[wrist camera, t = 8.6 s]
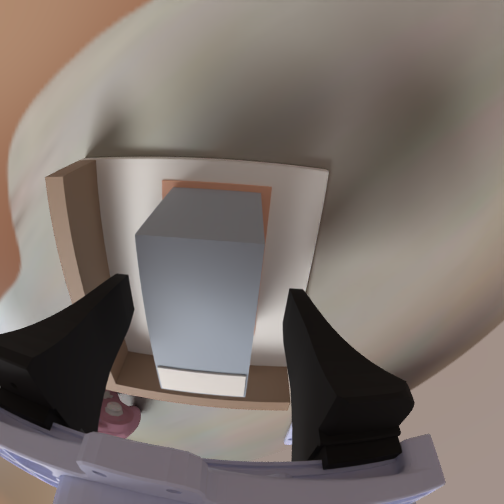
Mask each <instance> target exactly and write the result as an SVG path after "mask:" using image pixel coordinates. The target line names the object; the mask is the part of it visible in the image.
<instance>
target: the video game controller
mask: <svg viewBox="0 0 504 504" xmlns="http://www.w3.org/2000/svg"><path fill="white" fill-rule="evenodd" d="M140 419H141V413H140V410H139V408H138V407H136V406H127V405H125V404H124V403H123V402H121V401H120V399H119V396H118V394H117V392H115V391H110V390H106V389H105V393H104V398H103V402H102V407H101V413H100V419H99V425H98V432H99V433H105V434H109V435H112V436H116V437H120V438H124V439H125V438H127V437H128V436H129V435H130V434H132V433H133V432H134V431H135V429H136V428H137V427H138V425H139V422H140Z"/></svg>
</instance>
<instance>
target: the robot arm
mask: <svg viewBox="0 0 504 504" xmlns="http://www.w3.org/2000/svg"><path fill="white" fill-rule="evenodd" d="M134 310H135V309H134V304H133V299H132V293H131V287H130V281H129V275H127V274H118V273H116V274H115V275H113V276H112V277H110V278H109V279H107V280H106V281H105V282H103V283H102V284H100V285H99V286H98V287H96V288H95V289H94V290H92V291H91V292H89V293H88V294H87V295H85V296H84V297H82V298H81V299H79V300H78V301H76V302H75V303H73V304H72V305H70V306H69V307H67V308H65V309H64V310H62V311H60V312H58V313H56V314H55V315H53V316H51V317H48V318H46V319H44V320H42V321H40V322H37V323H35V324H33V325H30V326H27V327H25V328H22V329H19V330H15V331H12V332H8V333H4V334H0V456H1V457H2V458H4V459H6V460H7V461H9V462H10V463H12V464H14V465H15V466H17V467H19V468H21V469H22V470H24V471H26V472H28V473H29V474H31V475H33V476H35V477H37V478H38V479H40V480H42V481H44V482H46V483H48V484H50V485H52V486H54V487H56V488H57V490H56V494H55V497H54V501H53V504H416V502H415V501H417V500H419V499H421V498H423V497H425V496H426V495H428V494H430V493H432V492H433V491H435V490H437V489H438V488H440V487H442V486H443V485H445V479H444V476H443V472H442V469H441V465H440V462H439V460H438V456H437V453H436V450H435V447H434V444H433V441H432V438H431V435H430V434H425V435H422V436H417V437H413V438H409V439H406V440H404V441H402V442H399V439H398V436H399V435H400V434H401V431H400V428H399V425H400V424H401V423H402V421H403V420H404V419H405V418H406V417H407V416H408V415H409V413H410V412H411V411H412V409H413V407H414V400H413V397H412V394H411V392H410V389H409V387H408V385H407V383H406V381H404V380H402V379H400V378H398V377H396V376H394V375H392V374H390V373H388V372H387V371H385V370H383V369H382V368H380V367H378V366H377V365H375V364H374V363H372V362H371V361H369V360H368V359H367V358H365V357H364V356H363V355H361V354H360V353H359V352H357V351H356V350H355V349H354V348H353V347H351V346H350V345H349V344H348V343H347V342H346V341H345V340H344V339H343V338H342V337H341V336H340V335H339V334H338V333H337V332H336V331H335V330H334V329H333V328H332V327H331V325H330V324H329V323H328V322H327V321H326V319H325V318H324V317H323V316H322V314H321V313H320V312H319V310H318V309H317V308H316V306H315V305H314V304H313V302H312V301H311V299H310V298H309V297H308V295H307V294H306V292H305V291H304V290H303V289H294V288H289V293H288V298H287V303H286V308H285V313H284V318H283V323H282V324H283V344H284V351H285V357H286V363H287V369H288V375H289V381H290V388H291V406H292V423H291V425H290V428H289V430H288V432H287V434H286V437H285V439H284V444H286V445H292V462H247V461H228V460H215V459H205V458H201V457H200V456H197V455H195V454H192V453H190V452H187V451H183V450H179V449H174V448H169V447H163V446H157V445H152V444H147V443H142V442H137V441H133V440H129V439H124V438H120V437H116V436H112V435H109V434H105V433H99V432H98V425H99V419H100V413H101V407H102V402H103V398H104V393H105V389H106V385H107V382H108V378H109V374H110V371H111V368H112V366H113V363H114V361H115V359H116V356H117V354H118V352H119V349H120V347H121V345H122V343H123V341H124V338H125V336H126V334H127V332H128V329H129V327H130V323H131V320H132V317H133V313H134Z"/></svg>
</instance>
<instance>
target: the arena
mask: <svg viewBox="0 0 504 504" xmlns="http://www.w3.org/2000/svg"><path fill="white" fill-rule="evenodd" d="M328 175H329V171H328V170H327V169H320V168H313V167H305V166H296V165H287V164H278V163H268V162H257V161H244V160H231V159H214V158H192V157H98V158H84V159H81V160H79V161H77V162H75V163H73V164H71V165H69V166H67V167H65V168H62V169H60V170H58V171H56V172H55V173H53V174H51V175H49V176H47V177H45V180H46V188H47V196H48V202H49V209H50V215H51V220H52V226H53V231H54V236H55V240H56V245H57V249H58V254H59V258H60V262H61V266H62V270H63V274H64V277H65V281H66V284H67V288H68V291H69V295H70V298H71V301H72V304H73V303H75V302H76V301H78V300H79V299H81V298H82V297H84V296H85V295H87V294H88V293H89V292H91V291H92V290H94V289H95V288H96V287H98V286H99V285H100V284H102V283H103V282H105V281H106V280H107V279H109V278H110V277H112V276H113V275H115V274H116V273H118V274H127V275H129V281H130V287H131V293H132V299H133V304H134V309H135V310H134V313H133V317H132V320H131V323H130V327H129V329H128V332H127V334H126V336H125V338H124V341H123V343H122V345H121V347H120V349H119V352H118V354H117V356H116V359H115V361H114V363H113V366H112V368H111V371H110V374H109V378H108V382H107V385H106V390H110V391H115V392H119V393H124V394H129V395H133V396H139V397H144V398H149V399H155V400H161V401H168V402H175V403H182V404H190V405H198V406H208V407H218V408H231V409H248V410H288V408H289V405H290V394H289V383H288V373H287V363H286V357H285V351H284V344H283V324H282V323H283V318H284V313H285V308H286V303H287V298H288V293H289V288H294V289H303V290H304V291H305V292H306V287H307V283H308V278H309V274H310V269H311V265H312V260H313V255H314V250H315V245H316V240H317V235H318V230H319V225H320V220H321V215H322V209H323V204H324V198H325V193H326V187H327V181H328ZM173 187H180V188H200V189H216V190H231V191H244V192H256V193H261V200H262V213H263V226H264V239H265V248H264V256H263V264H262V272H261V280H260V289H259V297H258V304H257V312H256V320H255V328H254V336H253V344H252V351H251V359H250V366H249V374H248V381H247V389H246V396H245V397H232V396H219V395H209V394H199V393H190V392H182V391H175V390H168V389H161V386H160V382H159V378H158V374H157V370H156V365H155V361H154V356H153V351H152V347H151V342H150V337H149V331H148V326H147V321H146V315H145V309H144V303H143V297H142V290H141V283H140V276H139V268H138V260H137V252H136V243H135V234H136V232H137V231H138V230H139V228H140V227H141V226H142V225H143V223H144V222H145V221H146V219H147V218H148V217H149V216H150V214H151V213H152V212H153V211H154V210H155V208H156V207H157V206H158V205H159V203H160V202H161V201H162V200H163V199H164V197H165V196H166V195H167V194H168V193H169V191H170V190H171V189H172V188H173Z"/></svg>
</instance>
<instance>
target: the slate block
mask: <svg viewBox="0 0 504 504" xmlns="http://www.w3.org/2000/svg"><path fill="white" fill-rule="evenodd" d="M135 243H136V252H137V260H138V268H139V276H140V283H141V290H142V297H143V303H144V309H145V315H146V321H147V326H148V331H149V337H150V342H151V347H152V351H153V356H154V361H155V365H156V370H157V374H158V378H159V382H160V386H161V389H168V390H175V391H182V392H190V393H199V394H209V395H219V396H232V397H245V396H246V389H247V381H248V374H249V366H250V359H251V351H252V344H253V336H254V328H255V320H256V312H257V304H258V297H259V289H260V280H261V272H262V264H263V256H264V248H265V239H264V226H263V213H262V200H261V193H256V192H244V191H231V190H216V189H200V188H180V187H173V188H172V189H171V190H170V191H169V193H168V194H167V195H166V196H165V197H164V199H163V200H162V201H161V202H160V203H159V205H158V206H157V207H156V208H155V210H154V211H153V212H152V213H151V214H150V216H149V217H148V218H147V219H146V221H145V222H144V223H143V225H142V226H141V227H140V228H139V230H138V231H137V232H136V234H135Z"/></svg>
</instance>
